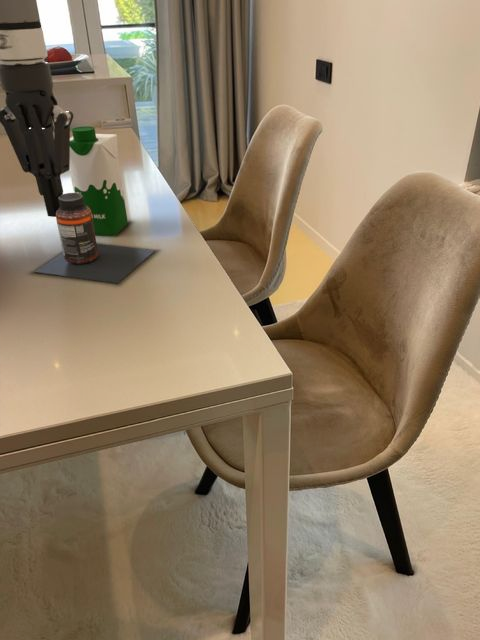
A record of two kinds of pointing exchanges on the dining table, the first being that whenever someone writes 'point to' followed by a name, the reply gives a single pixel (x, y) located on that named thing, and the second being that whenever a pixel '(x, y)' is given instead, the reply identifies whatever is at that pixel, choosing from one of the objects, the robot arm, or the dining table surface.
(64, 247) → the supplement bottle
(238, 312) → the dining table surface
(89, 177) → the milk carton
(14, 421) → the dining table surface
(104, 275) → the mat
